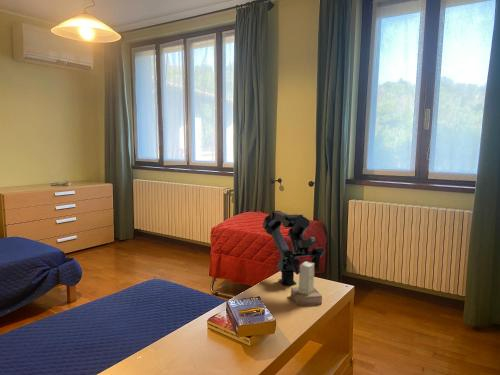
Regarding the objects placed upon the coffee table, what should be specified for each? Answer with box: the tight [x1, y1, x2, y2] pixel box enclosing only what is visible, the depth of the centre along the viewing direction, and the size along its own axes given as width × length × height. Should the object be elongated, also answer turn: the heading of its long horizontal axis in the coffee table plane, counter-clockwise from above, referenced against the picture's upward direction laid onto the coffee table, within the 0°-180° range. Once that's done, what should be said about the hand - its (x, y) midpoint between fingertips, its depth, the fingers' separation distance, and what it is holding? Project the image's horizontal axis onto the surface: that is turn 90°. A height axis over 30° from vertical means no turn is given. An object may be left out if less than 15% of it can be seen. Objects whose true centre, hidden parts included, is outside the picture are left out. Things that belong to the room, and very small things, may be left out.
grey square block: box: [290, 286, 323, 307], centre depth 159 cm, size 10×10×4 cm
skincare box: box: [298, 260, 315, 295], centre depth 158 cm, size 6×4×12 cm
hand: (308, 273), depth 156 cm, fingers open, 9 cm apart
